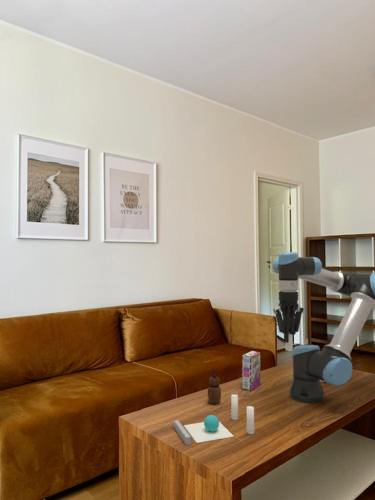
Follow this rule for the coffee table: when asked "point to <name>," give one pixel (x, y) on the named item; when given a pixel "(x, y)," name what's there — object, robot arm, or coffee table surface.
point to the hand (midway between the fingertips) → (289, 350)
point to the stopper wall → (182, 432)
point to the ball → (211, 423)
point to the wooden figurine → (214, 389)
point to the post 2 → (250, 420)
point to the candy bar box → (250, 370)
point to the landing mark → (207, 432)
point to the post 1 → (234, 407)
